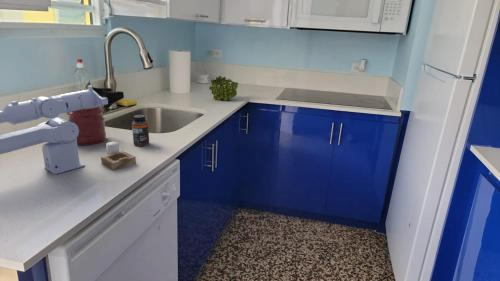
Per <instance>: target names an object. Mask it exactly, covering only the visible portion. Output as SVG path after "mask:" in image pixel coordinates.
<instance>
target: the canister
mask: <svg viewBox="0 0 500 281" xmlns="http://www.w3.org/2000/svg"><path fill="white" fill-rule="evenodd" d="M103 113H104V108H102V107H101V105H100V106H97V107H91V108H86V109H82V110H77V111H72V112H68V113H66V114H67V116H68V119H67V121H69V122H73V123H75V124H76V125H77V126H78V129H79V134H78V136H77V138H76V139H77V146H78V145H79V146H89V145H97V144H99V143H102V142H104V141H105V140H106V137H107V133H106V132H107V131H106V125H105V117H104V116H103Z"/></svg>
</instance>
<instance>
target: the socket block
mask: <svg viewBox="0 0 500 281" xmlns="http://www.w3.org/2000/svg"><path fill="white" fill-rule="evenodd" d="M136 157H137V156H135V155H132V154H131V153H128V152H126V151H124V150H123V151H119V152H118V153H114V154H110V155H107V154H106V155H103V156H100V163H101V165H103V166H105V167H107V168H109V170H112V171H117V170H119V169H123V168H127V167H130V166H133V165H136V164H137V158H136Z"/></svg>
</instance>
